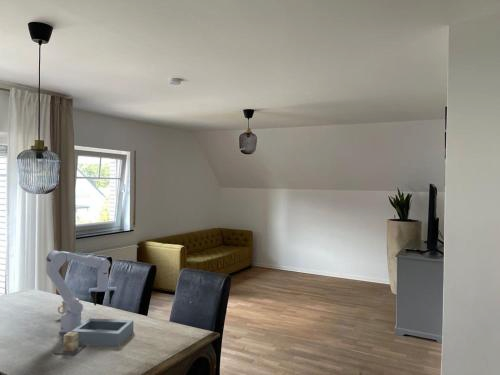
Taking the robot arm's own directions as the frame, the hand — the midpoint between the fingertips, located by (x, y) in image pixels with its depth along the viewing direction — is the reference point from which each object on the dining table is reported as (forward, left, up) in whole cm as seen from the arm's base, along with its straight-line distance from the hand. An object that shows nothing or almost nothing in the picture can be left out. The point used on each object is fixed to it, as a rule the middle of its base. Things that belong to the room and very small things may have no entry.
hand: (102, 304), depth 214 cm
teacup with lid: (-25, +8, -11) cm, 28 cm away
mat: (+2, -35, -10) cm, 37 cm away
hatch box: (+10, -19, -10) cm, 24 cm away
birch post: (+2, -35, -10) cm, 36 cm away
